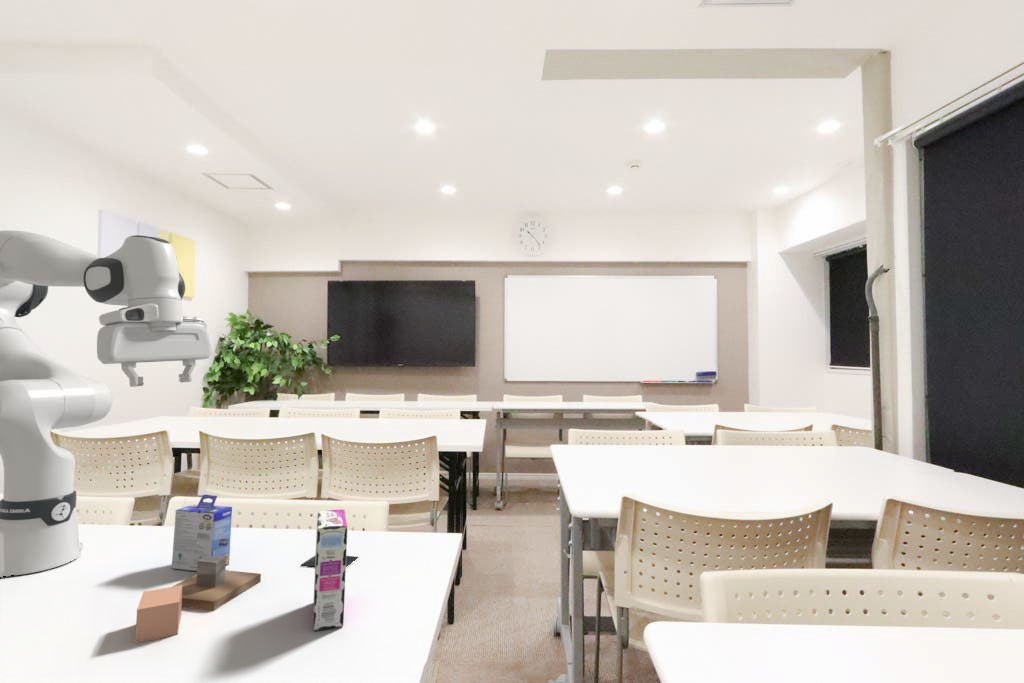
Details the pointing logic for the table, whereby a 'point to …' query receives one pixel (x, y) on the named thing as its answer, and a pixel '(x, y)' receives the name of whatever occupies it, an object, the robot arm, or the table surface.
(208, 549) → the ink cartridge box
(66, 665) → the table surface
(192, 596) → the base
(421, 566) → the table surface
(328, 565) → the candy bar box
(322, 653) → the table surface
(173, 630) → the salmon rectangular block
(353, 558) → the solid state drive
